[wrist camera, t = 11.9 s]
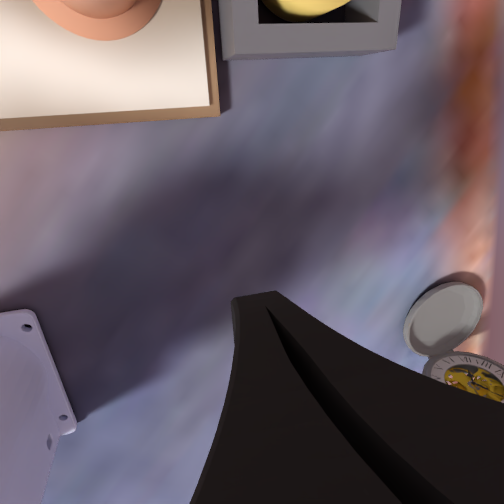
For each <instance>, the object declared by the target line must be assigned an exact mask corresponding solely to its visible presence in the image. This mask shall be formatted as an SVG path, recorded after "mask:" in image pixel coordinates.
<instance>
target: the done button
mask: <svg viewBox="0 0 504 504" xmlns="http://www.w3.org/2000/svg"><path fill="white" fill-rule="evenodd" d="M262 1H263V3H264V4H265V6H266V7H267V8H268V9H269V10H270V11H271V12H272V13H274V14H275V15H276V16H278V17H280V18H281V19H284V20H286V21H290V22H306V21H309V20H312V19H314V18H316V17H318V16H321V15H323V14H325V13H327V12H329V11H331V10H333V9H335V8H338V7H340V6H342V5H344V4H346V3H347V2H349V1H350V0H262Z"/></svg>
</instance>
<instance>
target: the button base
mask: <svg viewBox="0 0 504 504" xmlns="http://www.w3.org/2000/svg"><path fill="white" fill-rule="evenodd" d="M401 1H402V0H350V1H349V2H347V3H346V4H345V20H344V23H293V24H258V0H218V10H219V23H220V37H221V50H222V60H251V59H280V58H309V57H338V56H361V55H367V54H373V53H378V52H384V51H389V50H395V49H396V44H397V36H398V27H399V18H400V10H401Z"/></svg>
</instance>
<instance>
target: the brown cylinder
mask: <svg viewBox="0 0 504 504" xmlns="http://www.w3.org/2000/svg"><path fill="white" fill-rule="evenodd" d="M60 1H61V2H62V3H63V4H65V5H66V6H67V7H69V8H70V9H72V10H74V11H75V12H77V13H79V14H82V15H84V16H87V17H91V18H97V19H107V18H113V17H116V16H119V15H121V14H123V13H125V12H126V11H128V10H129V9H130V8H131V7H132V6H133V5H134V4H135V2H136V1H137V0H60Z"/></svg>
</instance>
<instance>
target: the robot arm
mask: <svg viewBox="0 0 504 504" xmlns="http://www.w3.org/2000/svg"><path fill="white" fill-rule="evenodd" d="M231 309H232V321H233V332H234V344H235V348H234V355H233V363H232V370H231V375H230V381H229V385H228V390H227V394H226V398H225V403H224V406H223V410H222V413H221V417H220V420H219V424H218V428H217V431H216V434H215V437H214V440H213V443H212V446H211V449H210V452H209V454H208V457H207V460H206V462H205V465H204V468H203V471H202V473H201V476H200V479H199V481H198V484H197V487H196V489H195V492H194V494H193V497H192V499H191V501H190V504H504V403H502V402H499V401H495V400H492V399H489V398H486V397H483V396H480V395H477V394H474V393H471V392H468V391H465V390H462V389H459V388H456V387H454V386H451V385H448V384H445V383H443V382H440V381H438V380H435V379H433V378H430V377H428V376H425V375H422V374H420V373H417V372H415V371H413V370H410V369H408V368H406V367H403V366H401V365H399V364H397V363H395V362H392V361H390V360H388V359H386V358H384V357H382V356H380V355H378V354H376V353H374V352H372V351H370V350H368V349H366V348H364V347H362V346H360V345H359V344H357V343H355V342H353V341H352V340H350V339H348V338H346V337H345V336H343V335H341V334H339V333H338V332H336V331H335V330H333V329H331V328H330V327H328V326H327V325H325V324H323V323H322V322H320V321H319V320H317V319H316V318H314V317H313V316H311V315H310V314H309V313H307V312H306V311H304V310H303V309H301V308H300V307H298V306H297V305H296V304H294V303H293V302H291V301H290V300H289V299H287V298H286V297H284V296H283V295H282V294H280V293H279V292H277V291H270V292H264V293H259V294H253V295H247V296H242V297H236V298H234V299H233V300H232V301H231ZM24 324H29V325H31V326H32V327H31V328H28V327H25V326H24ZM63 415H66V416H63ZM76 427H77V421H76V418H75V415H74V413H73V410H72V408H71V405H70V402H69V400H68V397H67V395H66V392H65V389H64V387H63V384H62V382H61V379H60V376H59V374H58V371H57V369H56V366H55V363H54V361H53V358H52V356H51V353H50V350H49V348H48V345H47V343H46V340H45V337H44V335H43V332H42V330H41V327H40V324H39V322H38V319H37V317H36V315H35V313H34V312H33V311H31V310H28V309H21V310H15V311H9V312H3V313H0V504H41V501H42V498H43V494H44V490H45V487H46V483H47V480H48V476H49V473H50V469H51V465H52V462H53V458H54V455H55V451H56V448H57V444H58V440H59V437H60V436H61V435H65V434H69V433H72V432H74V431H75V430H76Z"/></svg>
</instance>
